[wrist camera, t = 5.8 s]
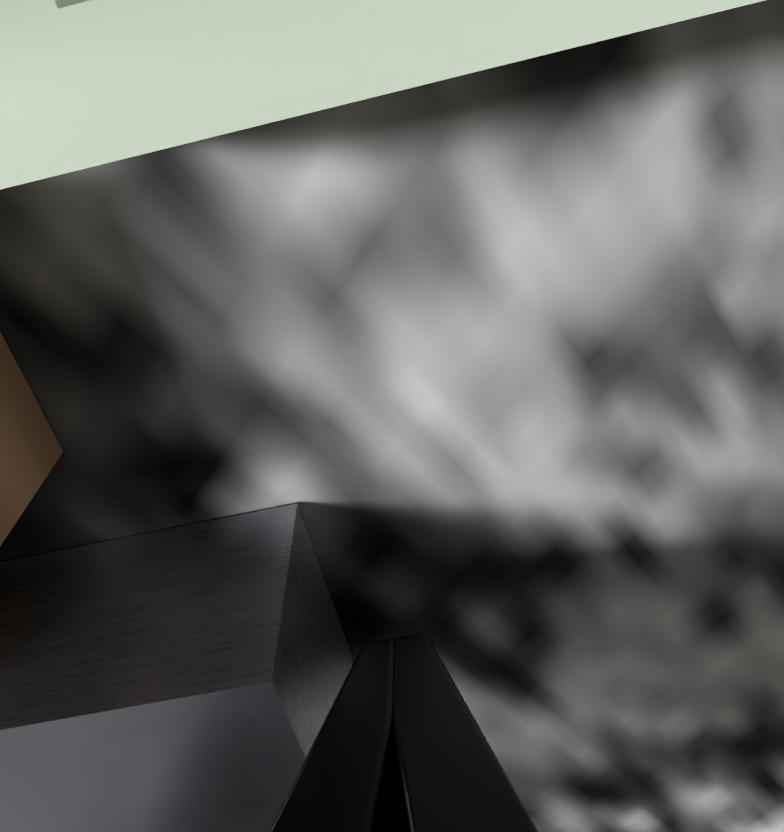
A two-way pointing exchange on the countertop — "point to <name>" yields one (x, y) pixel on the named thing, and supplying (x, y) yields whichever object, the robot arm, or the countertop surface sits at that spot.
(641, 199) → the countertop surface
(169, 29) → the tray
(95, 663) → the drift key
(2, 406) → the brown flat open-framed piece
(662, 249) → the countertop surface
